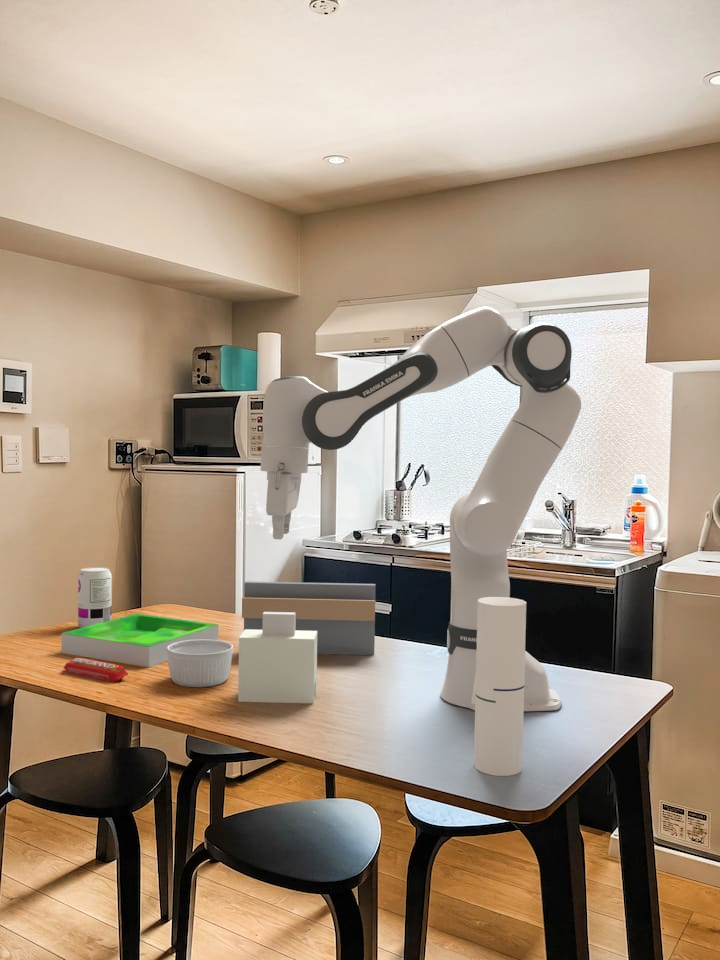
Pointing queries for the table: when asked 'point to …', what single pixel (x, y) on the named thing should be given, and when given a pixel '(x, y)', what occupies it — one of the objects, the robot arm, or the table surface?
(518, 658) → the cylindrical container
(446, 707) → the table surface
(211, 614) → the table surface
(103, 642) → the tray
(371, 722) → the table surface
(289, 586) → the wall board
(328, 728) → the table surface
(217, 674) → the ramekin
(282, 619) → the off-white handled block
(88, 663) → the candy bar
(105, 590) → the supplement can
